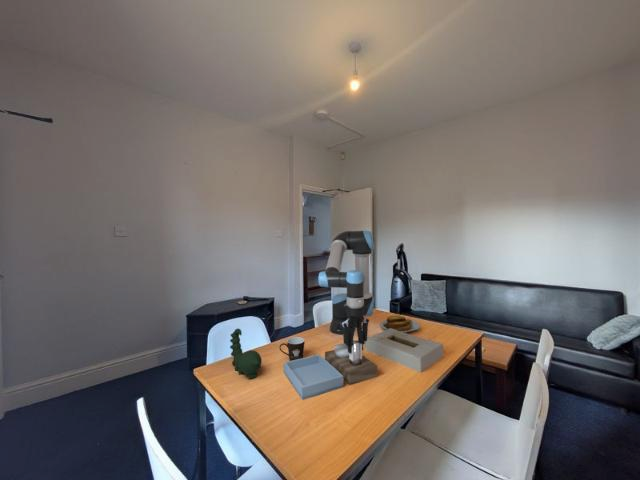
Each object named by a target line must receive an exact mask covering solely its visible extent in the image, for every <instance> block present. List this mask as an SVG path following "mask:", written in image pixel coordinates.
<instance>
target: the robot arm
mask: <svg viewBox="0 0 640 480" xmlns="http://www.w3.org/2000/svg"><path fill="white" fill-rule="evenodd" d="M373 237H374V236H373V232H371V231H370V230H346V231H342V232H340V233H338V234H337V235H336V236H335V237H334V238H333V239H332V241H331V243H330V253H329V256H328V259H327V263H326V267H325V270H324V271H320V272H319V273H318V276H317V277H318V285H319V287H321V288H338V289H339V288H345V289H346V293H345V292H344V293H343V292H342V293H338V294H335V295H333V296H332V300H331V301H332V302H331V306H332V307H331V308H332V311H331V312H332V317H331V318H332V319H331V322H330V325H329V331H330V332H331V333H332V334H335V335H342V336H343V337H342V338H343V344H346V345H347V346H348V352H349V359H350V360H352V361H354V346H353V341H354V337H355V331H356V333H357V339H358V340H357V341H359V342H360V359H362V355H363V351H364V345H365V341H367V337H368V332H369V330H368V328H369V323H370V319H369V318H366V316H367V317H369V316H372V315H373V313H374V309H375V308H374V306H375V297H374V296H373V294H372V293H371V292H370V255H371V254H372V251H374V250H375V245H374V239H373ZM346 251H352V254H353V256H354V264H355V265H354V269H355V270H351V269H350V270H348V271H341V269H342V265H343V260H344V255H345V252H346Z"/></svg>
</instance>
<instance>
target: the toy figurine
mask: <svg viewBox="0 0 640 480" xmlns="http://www.w3.org/2000/svg"><path fill="white" fill-rule="evenodd" d="M240 336H242V329H241V328H236V329H235V330H234V331H233V332H232V333H231V334H230V337H231V339H230V340H229V342H230V343H231V345H230V346H229V347H230V349H231V350H232V351H231V353H230V356H231V357H233V360H232V361H231V364H232V366H234V371H237V373H238V374H239V375H241V374H243V373H244V374H245V375H246V377H247V378H248V379H249V380H250V379H251V380H252V379H254V378H256V377H257V375H258V371H259V370H260V369H261V368H262V356H261V354H260V353H259V352H258V351H256V350H247V351H245V352H244V353H243V349H242V344H241V339H240Z"/></svg>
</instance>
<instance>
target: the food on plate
mask: <svg viewBox="0 0 640 480" xmlns="http://www.w3.org/2000/svg"><path fill="white" fill-rule="evenodd" d="M380 327H381V328H382V329H383V330H388V329H389V328H392V329H395V330H398V331H400V332H403V333H409V332H413V331H416V330H417V331H419V328H421V324H420V323H419V322H418V321H416V320H412V319H407V318H406V317H405V316H401V315H390V316H388V317H387V318H386V320H383V321H382V322H381V323H380Z"/></svg>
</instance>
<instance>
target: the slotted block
mask: <svg viewBox="0 0 640 480" xmlns="http://www.w3.org/2000/svg"><path fill="white" fill-rule="evenodd" d="M364 347H365V351H368V352H370V353H371V354H372V353H373V354H374V355H377V356H380V357H382V358H383V359H387V360H389V361H391V362H394V363H396V364H399V365H402V366H404V367H406V368H408V369H411V370H413V371H416V372H417V373H422V372H424V371H425V370H426V369H428V368H429V367H431V366H432V365H434V364H435V363H437V362H438V361H439V360H441V359H442V358H444V352H445V351H444V345H443V343H441V342H438V341H433V340H431V339H428V338H427V339H425V338H421V337H418V336H416V335H413V334H409V333H408V332H406V333H403V332H400V331H398V330H395V329H392V328H389V329H388V330H386V329H384V330H383V331H380V332H378V333H376V334H373V335H372V336H367V341H365V344H364Z"/></svg>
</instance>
